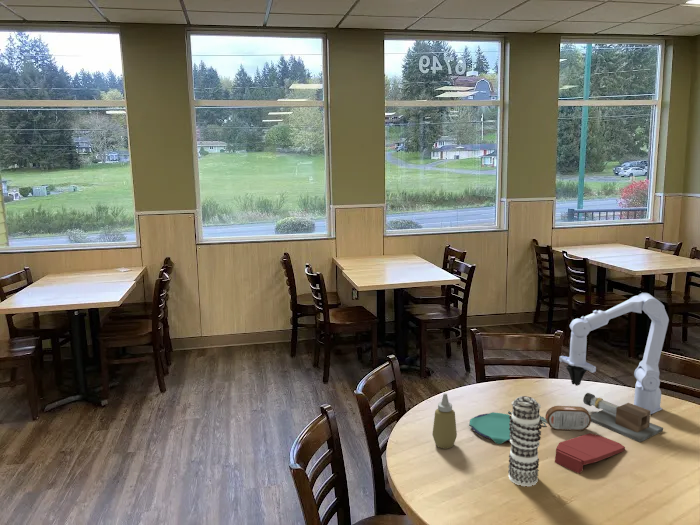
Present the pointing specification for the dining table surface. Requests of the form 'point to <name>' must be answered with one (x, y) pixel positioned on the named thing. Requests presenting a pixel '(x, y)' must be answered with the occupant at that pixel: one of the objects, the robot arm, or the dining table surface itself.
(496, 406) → the dining table surface
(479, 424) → the green flat slab
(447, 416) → the squeeze bottle
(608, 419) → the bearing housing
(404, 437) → the dining table surface
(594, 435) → the red bent panel
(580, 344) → the robot arm
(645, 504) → the dining table surface
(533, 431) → the decorative candle
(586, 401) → the shaft
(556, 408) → the tin
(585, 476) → the dining table surface
